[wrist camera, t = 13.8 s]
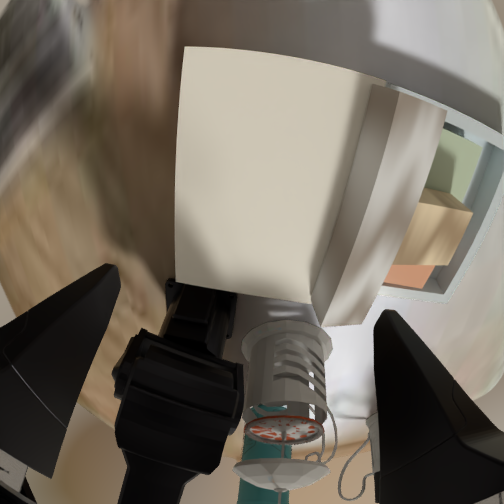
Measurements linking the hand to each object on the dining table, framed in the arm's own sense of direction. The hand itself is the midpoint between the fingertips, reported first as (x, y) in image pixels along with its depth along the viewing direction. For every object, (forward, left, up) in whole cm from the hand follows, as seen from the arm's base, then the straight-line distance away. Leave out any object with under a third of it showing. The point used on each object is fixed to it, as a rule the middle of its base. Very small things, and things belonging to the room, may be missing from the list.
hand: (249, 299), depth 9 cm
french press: (-20, -6, -13) cm, 24 cm away
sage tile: (+4, -11, -10) cm, 15 cm away
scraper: (0, -4, -7) cm, 8 cm away
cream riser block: (0, 0, -13) cm, 13 cm away
